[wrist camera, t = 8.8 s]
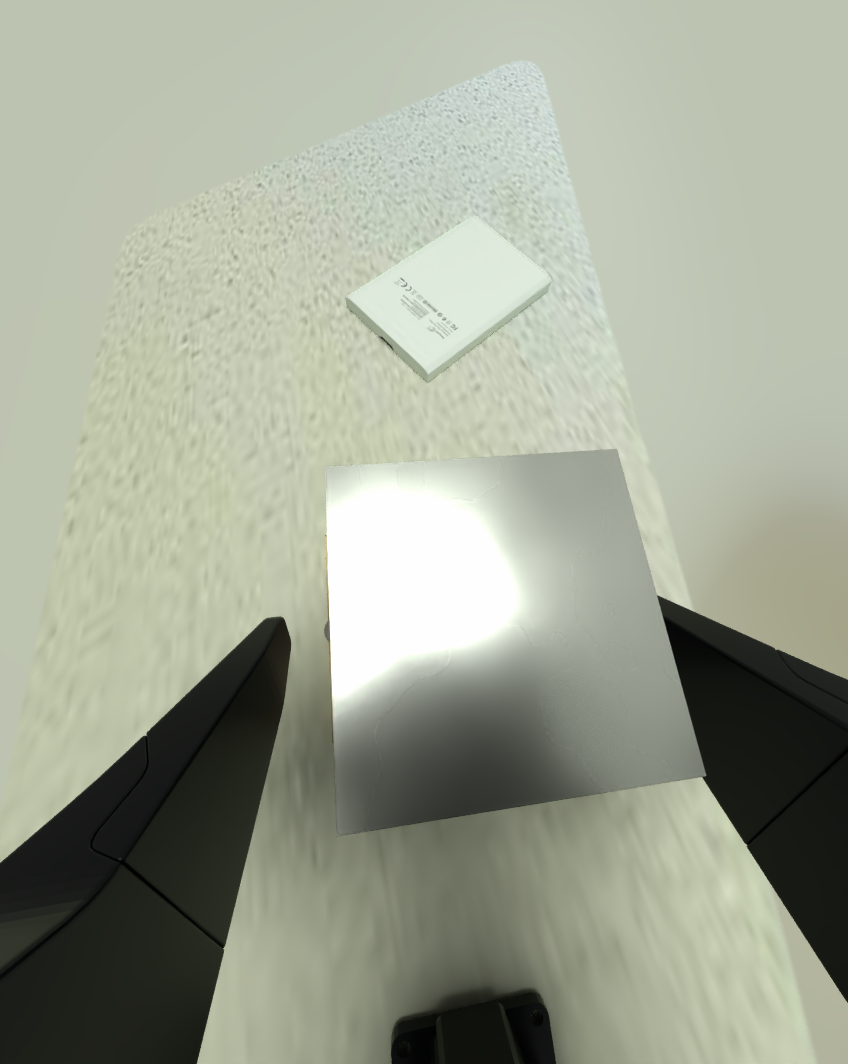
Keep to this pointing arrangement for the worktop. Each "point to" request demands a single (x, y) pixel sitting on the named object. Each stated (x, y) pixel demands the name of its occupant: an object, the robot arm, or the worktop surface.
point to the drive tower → (494, 639)
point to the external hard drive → (449, 296)
